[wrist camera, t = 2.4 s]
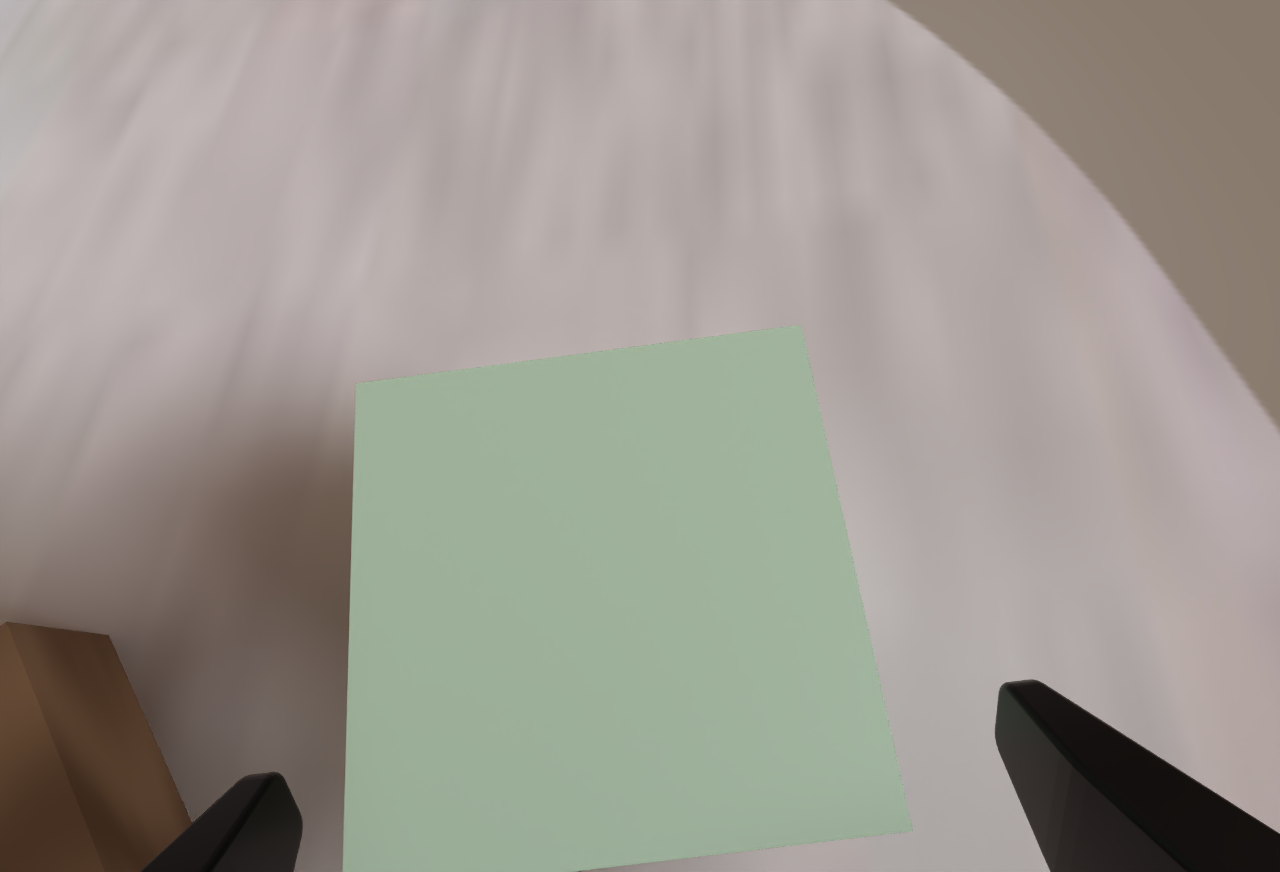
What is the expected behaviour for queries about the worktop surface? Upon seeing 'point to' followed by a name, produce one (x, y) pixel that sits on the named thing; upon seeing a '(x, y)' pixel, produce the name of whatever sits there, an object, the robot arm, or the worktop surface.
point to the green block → (606, 616)
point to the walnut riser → (77, 759)
